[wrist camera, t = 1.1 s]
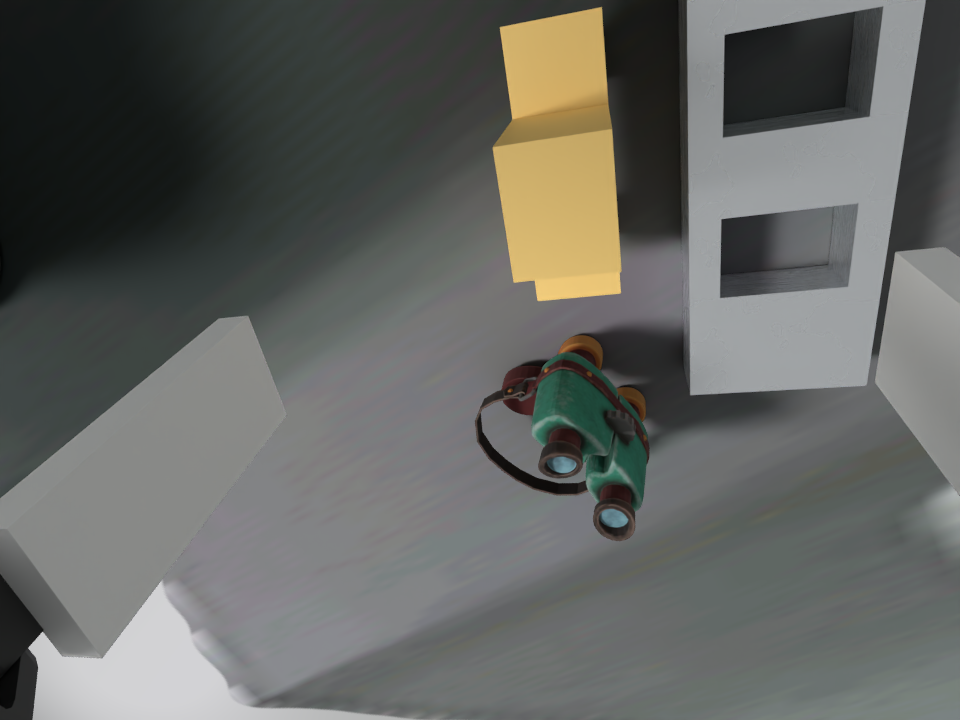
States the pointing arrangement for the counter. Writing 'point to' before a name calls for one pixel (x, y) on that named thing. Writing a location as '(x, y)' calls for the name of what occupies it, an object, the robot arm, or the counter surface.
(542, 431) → the binoculars
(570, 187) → the yellow stepped block
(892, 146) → the grey board with holes
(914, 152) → the counter surface
